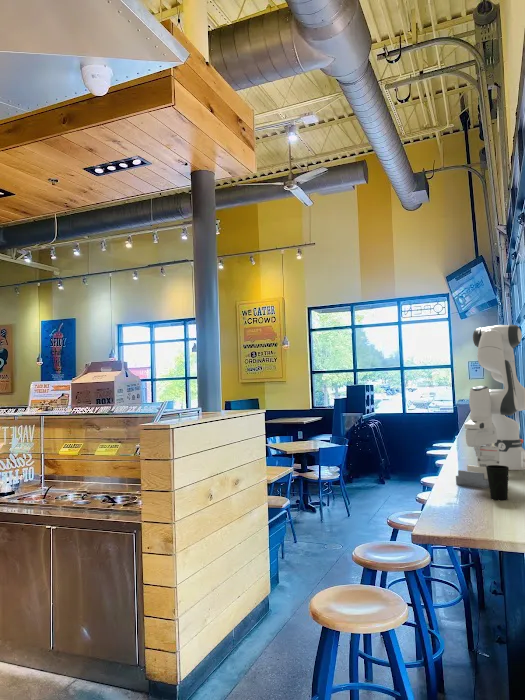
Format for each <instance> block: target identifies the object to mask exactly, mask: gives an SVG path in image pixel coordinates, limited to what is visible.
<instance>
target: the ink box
mask: <svg viewBox="0 0 525 700" xmlns="http://www.w3.org/2000/svg"><path fill="white" fill-rule="evenodd" d="M480 452H481V455H482V456H480V457H478V456H476V457H477V458H476V459H477V460H476V462H477V465H476V466H482V467H486V466H489V465H499V447H495V446H493V445H492V446H486V445H482V446H480Z"/></svg>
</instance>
